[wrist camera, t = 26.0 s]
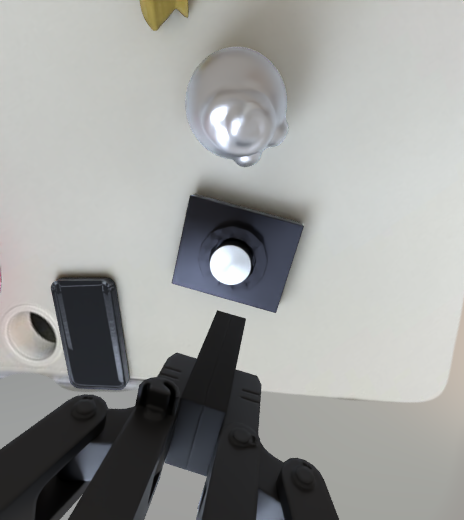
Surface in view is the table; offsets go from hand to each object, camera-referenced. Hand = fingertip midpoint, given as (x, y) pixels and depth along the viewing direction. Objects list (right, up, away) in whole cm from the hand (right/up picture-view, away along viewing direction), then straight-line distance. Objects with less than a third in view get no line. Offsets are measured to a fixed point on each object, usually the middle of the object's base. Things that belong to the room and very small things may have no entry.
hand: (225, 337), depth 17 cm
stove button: (0, +4, +17) cm, 17 cm away
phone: (-17, -5, +25) cm, 31 cm away
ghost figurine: (+1, +18, +16) cm, 25 cm away
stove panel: (+1, +5, +20) cm, 21 cm away
